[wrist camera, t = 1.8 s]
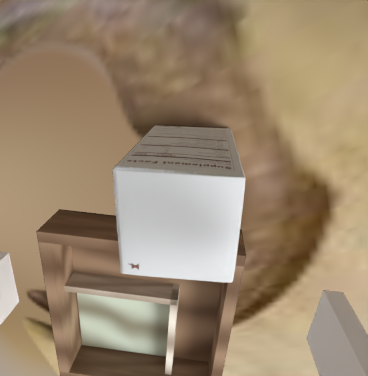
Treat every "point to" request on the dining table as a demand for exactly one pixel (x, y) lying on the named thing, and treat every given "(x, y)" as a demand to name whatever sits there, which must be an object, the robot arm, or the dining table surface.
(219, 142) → the supplement box
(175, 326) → the crate
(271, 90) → the dining table surface
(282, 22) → the dining table surface
